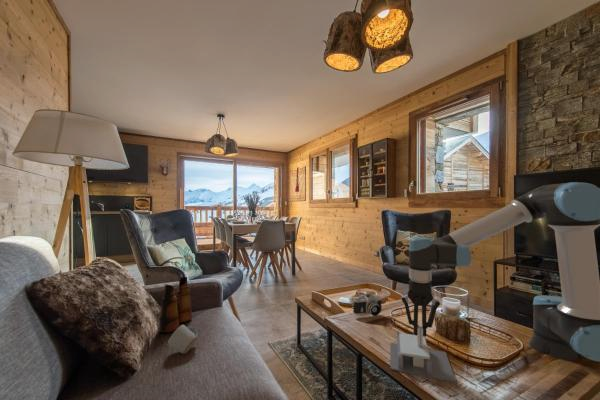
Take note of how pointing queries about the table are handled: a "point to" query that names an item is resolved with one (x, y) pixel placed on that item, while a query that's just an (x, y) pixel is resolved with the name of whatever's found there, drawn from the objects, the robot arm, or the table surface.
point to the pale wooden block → (418, 362)
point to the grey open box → (433, 367)
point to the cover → (413, 346)
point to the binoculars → (175, 307)
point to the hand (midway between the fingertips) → (419, 344)
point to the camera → (367, 305)
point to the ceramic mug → (183, 339)
